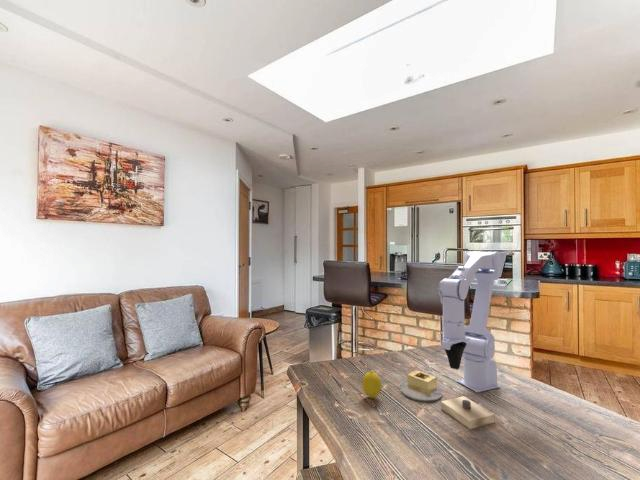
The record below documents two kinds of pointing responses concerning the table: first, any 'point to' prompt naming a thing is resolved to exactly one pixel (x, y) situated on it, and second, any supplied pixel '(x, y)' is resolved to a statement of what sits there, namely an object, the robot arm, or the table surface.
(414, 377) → the gold open box
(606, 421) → the table surface
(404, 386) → the hub
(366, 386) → the lemon
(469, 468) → the table surface
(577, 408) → the table surface
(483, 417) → the stand
